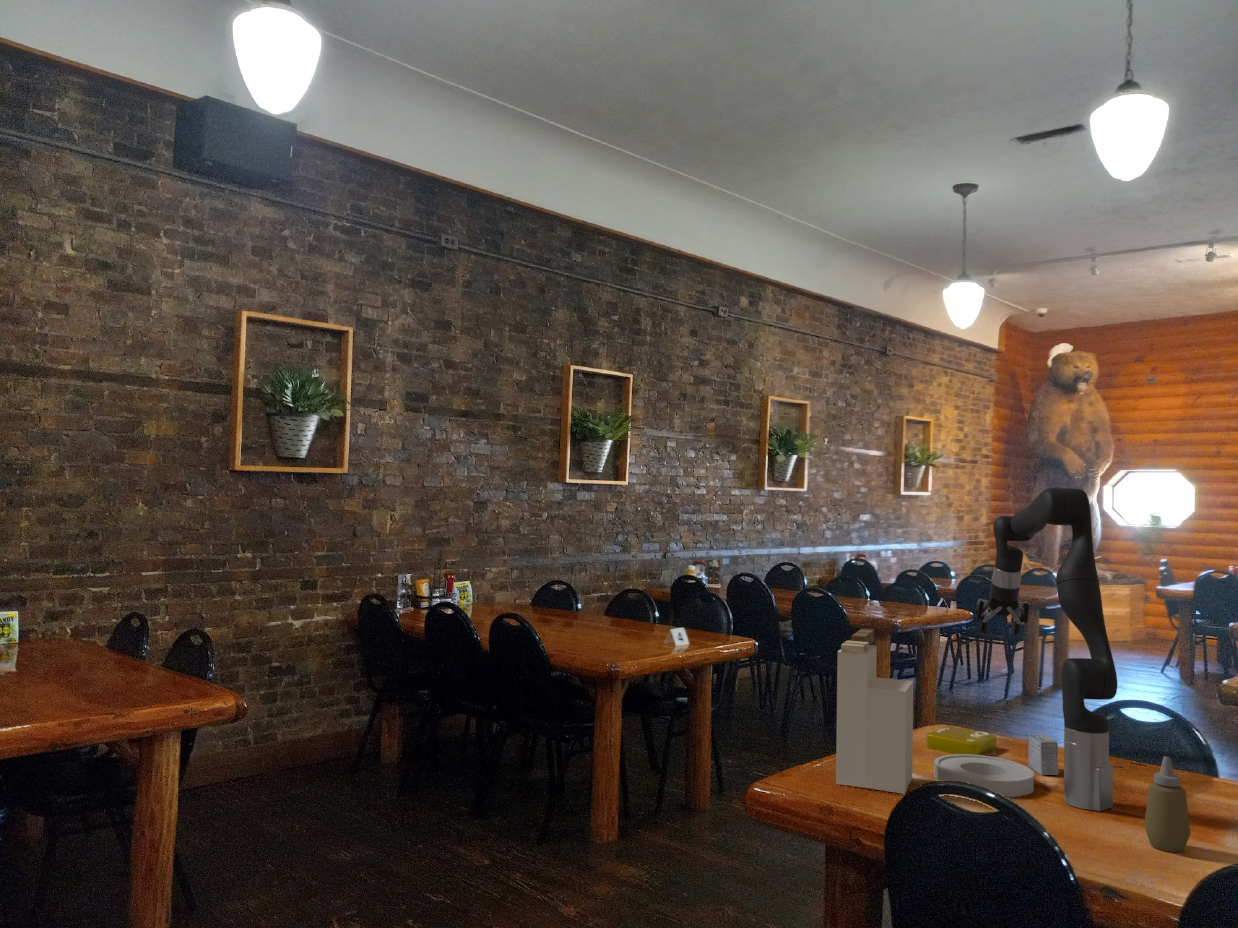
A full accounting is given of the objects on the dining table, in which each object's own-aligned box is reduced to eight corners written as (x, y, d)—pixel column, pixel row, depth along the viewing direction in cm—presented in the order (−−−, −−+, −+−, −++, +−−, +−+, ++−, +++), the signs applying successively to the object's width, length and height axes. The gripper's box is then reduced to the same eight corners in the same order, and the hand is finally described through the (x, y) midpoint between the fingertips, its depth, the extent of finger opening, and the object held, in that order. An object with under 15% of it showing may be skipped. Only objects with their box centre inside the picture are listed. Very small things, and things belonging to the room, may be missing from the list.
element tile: (947, 740, 269) (947, 723, 269) (998, 750, 259) (999, 733, 259) (924, 748, 258) (924, 731, 259) (977, 760, 248) (977, 742, 248)
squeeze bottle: (1174, 840, 189) (1173, 751, 190) (1200, 855, 181) (1199, 762, 182) (1135, 839, 189) (1135, 751, 190) (1159, 854, 181) (1159, 762, 181)
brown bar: (858, 639, 244) (858, 628, 244) (878, 641, 242) (878, 629, 242) (841, 652, 222) (841, 639, 222) (862, 653, 220) (863, 641, 220)
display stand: (847, 768, 235) (848, 643, 237) (912, 777, 229) (913, 648, 230) (836, 784, 222) (837, 651, 223) (904, 794, 215) (906, 657, 216)
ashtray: (983, 766, 242) (984, 750, 242) (1056, 792, 221) (1056, 775, 221) (913, 774, 233) (913, 758, 233) (982, 802, 212) (982, 784, 212)
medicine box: (1058, 776, 233) (1058, 741, 234) (1040, 775, 233) (1040, 741, 234) (1044, 767, 241) (1044, 734, 242) (1027, 766, 241) (1027, 733, 242)
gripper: (983, 586, 260) (976, 637, 265) (1035, 589, 259) (1028, 640, 264) (976, 575, 267) (970, 626, 272) (1027, 578, 266) (1020, 628, 271)
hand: (998, 633), depth 268 cm, fingers open, 8 cm apart
